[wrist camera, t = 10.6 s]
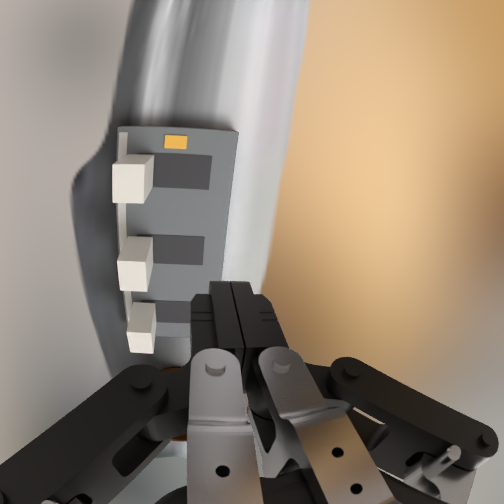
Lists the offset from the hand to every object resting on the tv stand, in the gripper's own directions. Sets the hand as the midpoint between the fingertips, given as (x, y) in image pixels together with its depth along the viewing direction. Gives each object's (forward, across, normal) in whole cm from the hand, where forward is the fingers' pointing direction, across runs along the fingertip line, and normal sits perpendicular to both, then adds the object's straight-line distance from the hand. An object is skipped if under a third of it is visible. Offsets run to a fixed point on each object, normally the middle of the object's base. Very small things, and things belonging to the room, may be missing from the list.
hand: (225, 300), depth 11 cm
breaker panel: (+19, +3, +6) cm, 21 cm away
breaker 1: (+17, +6, -1) cm, 18 cm away
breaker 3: (+17, +6, +15) cm, 23 cm away
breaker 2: (+17, +6, +7) cm, 19 cm away
